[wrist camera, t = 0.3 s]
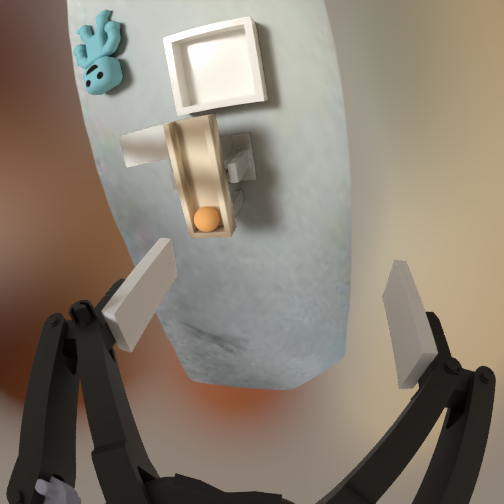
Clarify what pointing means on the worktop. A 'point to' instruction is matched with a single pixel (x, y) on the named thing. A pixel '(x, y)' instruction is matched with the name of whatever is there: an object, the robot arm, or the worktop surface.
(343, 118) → the worktop surface
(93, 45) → the toy
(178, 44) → the dish
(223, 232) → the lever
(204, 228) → the ball
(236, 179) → the fulcrum
